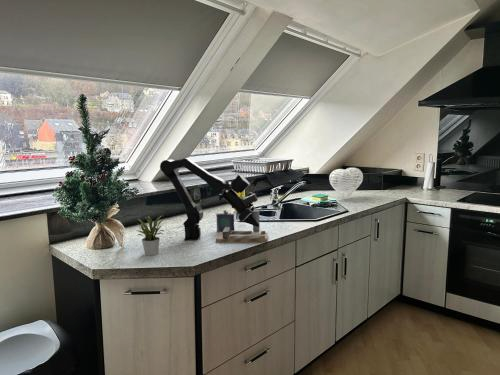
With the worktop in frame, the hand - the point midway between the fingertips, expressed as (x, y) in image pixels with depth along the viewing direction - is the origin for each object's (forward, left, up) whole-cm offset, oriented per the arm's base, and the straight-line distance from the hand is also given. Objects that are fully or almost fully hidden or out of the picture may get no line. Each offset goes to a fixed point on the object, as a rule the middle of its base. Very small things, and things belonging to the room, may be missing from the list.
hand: (259, 223), depth 176 cm
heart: (+58, +102, -7) cm, 117 cm away
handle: (-1, 0, -5) cm, 5 cm away
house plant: (-42, -21, -7) cm, 48 cm away
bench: (-8, 0, -7) cm, 11 cm away
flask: (-17, +14, -7) cm, 24 cm away
